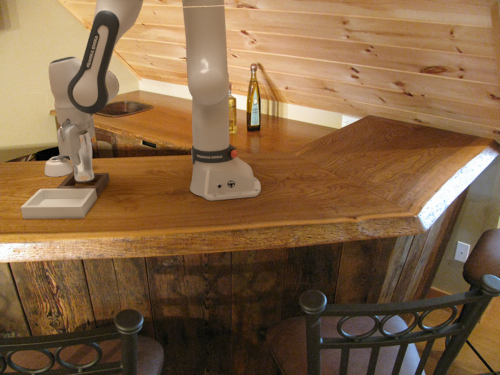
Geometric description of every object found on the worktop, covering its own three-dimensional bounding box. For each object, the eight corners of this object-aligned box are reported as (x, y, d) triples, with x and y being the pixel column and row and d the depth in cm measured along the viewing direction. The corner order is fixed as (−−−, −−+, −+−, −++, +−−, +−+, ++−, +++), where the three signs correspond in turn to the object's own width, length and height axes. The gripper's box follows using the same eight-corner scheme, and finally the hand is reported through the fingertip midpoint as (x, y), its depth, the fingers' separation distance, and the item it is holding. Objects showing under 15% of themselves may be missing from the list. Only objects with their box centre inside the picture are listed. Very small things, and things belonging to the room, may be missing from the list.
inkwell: (44, 169, 142) (38, 142, 138) (98, 162, 149) (94, 136, 144) (44, 178, 134) (38, 150, 130) (101, 171, 141) (97, 143, 137)
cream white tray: (97, 199, 120) (95, 188, 119) (83, 218, 109) (81, 206, 108) (42, 199, 120) (40, 188, 118) (23, 218, 109) (20, 207, 107)
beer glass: (89, 173, 130) (81, 127, 124) (101, 178, 126) (94, 132, 120) (68, 179, 125) (59, 132, 119) (80, 185, 121) (71, 137, 115)
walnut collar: (109, 181, 133) (108, 172, 131) (98, 196, 122) (97, 187, 121) (72, 181, 132) (71, 172, 131) (58, 197, 121) (56, 188, 120)
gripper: (71, 124, 108) (80, 172, 114) (95, 107, 127) (101, 149, 132) (47, 125, 108) (57, 173, 113) (74, 107, 126) (82, 149, 132)
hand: (81, 160), depth 123 cm, fingers closed on beer glass, 6 cm apart
